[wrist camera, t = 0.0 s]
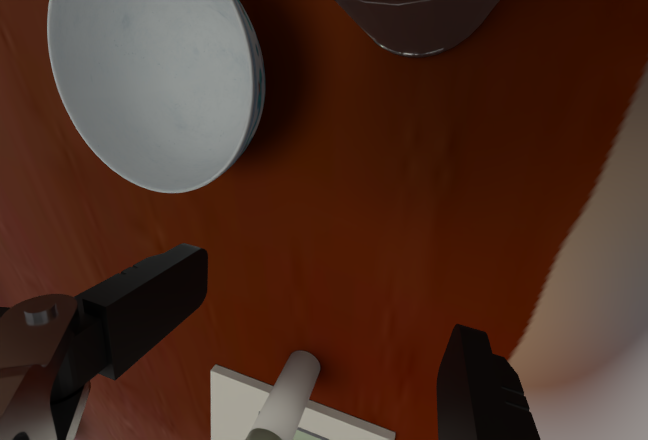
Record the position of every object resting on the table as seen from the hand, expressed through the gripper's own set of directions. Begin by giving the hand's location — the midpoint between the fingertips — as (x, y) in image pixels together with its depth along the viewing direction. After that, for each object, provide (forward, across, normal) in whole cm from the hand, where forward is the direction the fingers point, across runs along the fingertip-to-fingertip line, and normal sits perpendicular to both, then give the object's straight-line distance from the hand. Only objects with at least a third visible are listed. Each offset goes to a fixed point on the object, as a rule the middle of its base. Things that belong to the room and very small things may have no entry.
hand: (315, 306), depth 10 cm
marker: (+18, +4, +21) cm, 28 cm away
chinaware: (+17, +15, -6) cm, 24 cm away
